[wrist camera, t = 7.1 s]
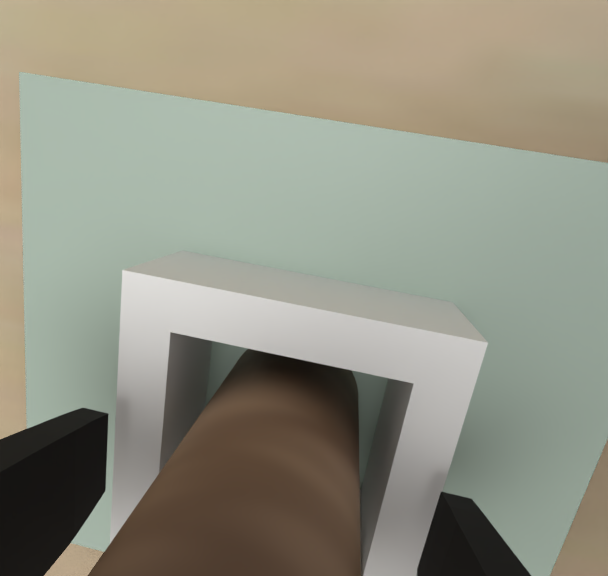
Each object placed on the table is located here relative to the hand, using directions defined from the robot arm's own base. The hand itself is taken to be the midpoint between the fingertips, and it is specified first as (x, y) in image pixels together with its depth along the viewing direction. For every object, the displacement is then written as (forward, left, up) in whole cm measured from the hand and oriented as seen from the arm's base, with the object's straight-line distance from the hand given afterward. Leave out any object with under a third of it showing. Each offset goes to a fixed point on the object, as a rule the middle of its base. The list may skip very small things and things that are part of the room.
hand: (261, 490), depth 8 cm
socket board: (0, 0, -5) cm, 5 cm away
